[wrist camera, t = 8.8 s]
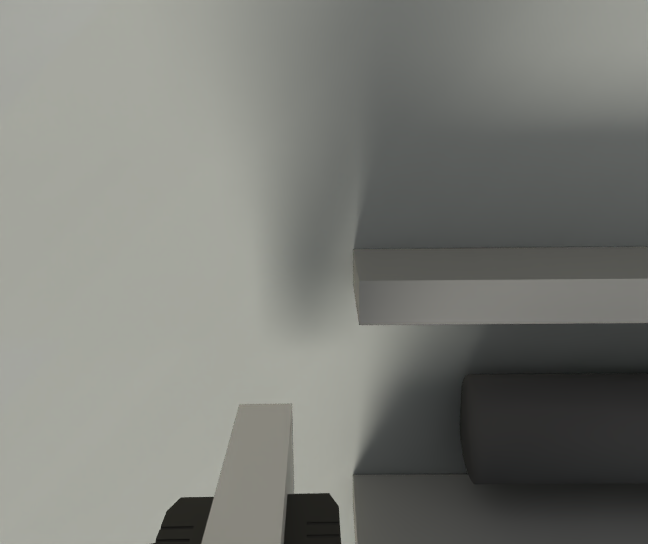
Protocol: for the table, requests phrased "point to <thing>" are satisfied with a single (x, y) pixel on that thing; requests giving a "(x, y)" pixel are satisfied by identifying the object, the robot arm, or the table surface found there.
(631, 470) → the cylinder
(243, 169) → the table surface
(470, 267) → the grey flat bent block
